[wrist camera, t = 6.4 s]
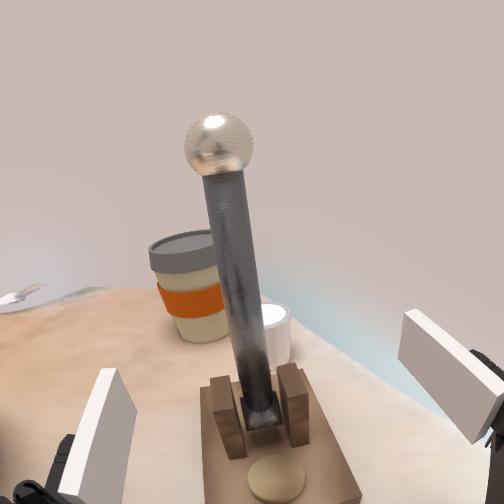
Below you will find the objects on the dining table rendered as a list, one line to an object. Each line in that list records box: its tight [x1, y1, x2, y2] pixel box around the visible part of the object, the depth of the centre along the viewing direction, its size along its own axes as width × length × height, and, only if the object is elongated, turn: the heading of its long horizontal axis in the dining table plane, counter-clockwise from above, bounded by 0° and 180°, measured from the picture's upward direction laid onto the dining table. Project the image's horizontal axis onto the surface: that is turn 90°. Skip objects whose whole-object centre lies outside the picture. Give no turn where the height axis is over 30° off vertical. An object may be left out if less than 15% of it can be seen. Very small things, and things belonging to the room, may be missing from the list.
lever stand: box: [200, 362, 362, 504], centre depth 24 cm, size 12×18×9 cm, turn 8°
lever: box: [184, 112, 283, 432], centre depth 20 cm, size 4×4×24 cm
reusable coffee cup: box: [149, 229, 230, 343], centre depth 47 cm, size 12×12×15 cm
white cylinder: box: [261, 302, 291, 371], centre depth 38 cm, size 7×7×7 cm
